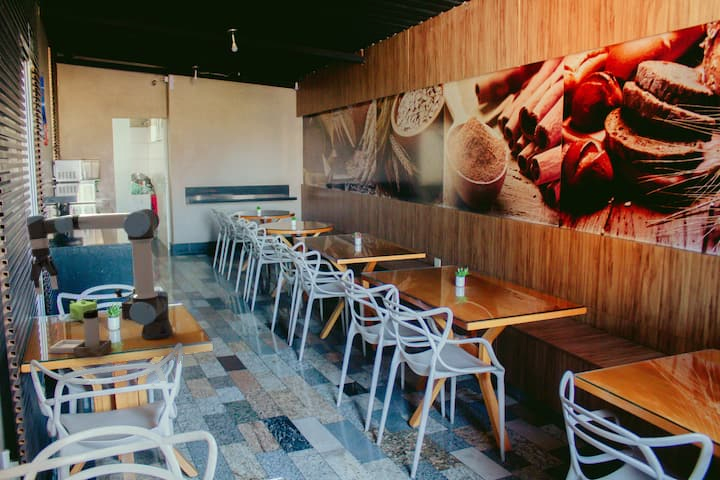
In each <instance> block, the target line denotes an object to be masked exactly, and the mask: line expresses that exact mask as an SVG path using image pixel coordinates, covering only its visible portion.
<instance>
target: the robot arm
mask: <svg viewBox="0 0 720 480" xmlns="http://www.w3.org/2000/svg"><path fill="white" fill-rule="evenodd" d="M159 225H160V217H159V215H158V213H157V212H156V211H155V210H152V209H148V208H143V209H140V210H139V209H138V210H132V211H131V212H124V213H123V212H120V213H115V212H114V213H89V214H87V213H85V214H77V213H76V214H75V213H73V214H68V215H62V216H56V217H49V218H45V215H44V214H38V215H37V214H36V215H29V216H27V217H26V227H27V231H28V237H29V244H30V248H31V250H30V251H31V256H32V257H33V258H34V259H31V268H30V275H29V276H30V278H29V280H30V281H31V282H33V285H34V288H35V289H34V291H35V295H36V296H38V295H39V296H40V295H43V288H42V287H43V286H42V282H41V279H40V278H41V274H42V270H43V269H44V268H45V270H46V272H48V274H49V280H50V282H49V283H50V287H51V290H59V287H58V286H59V285H58V280H57V276H58V275H59V271H58V268H57V266H56V264H55V262H54V260H53V256H52V255H51V251H50V247H49V245H50V243H49V238H48V235H51V234H65V233H70V232H71V231H80V230H82V231H83V230H84V231H85V230H111V229H112V230H117V229H118V230H119V229H123V230H124V231H125V233H126V235H127V241H128V242H130V243H131V248H132V249H131V251H132V266H133V280H134V289H135V294H133V295H132V296H131V298H132V303H133V305H132V306H131V308H130V312H129V313H130V317H131V319H132V320H131V321H133V322H134V323H135V324H137V325H139V326H142V329H141V338H142V339H143V340H150V341H152V340H153V341H154V340H155V341H156V340H163V339H167V338H170V337H173V335H174V329H173V326H172V325H171V322H170V318H169V317H170V316H169V314H170V313H169V312H170V311H169V293H168V291H166V290H155V284H154V267H153V253H152V242H153V240H154V239H155V231H156V230H157V229H158V227H159Z"/></svg>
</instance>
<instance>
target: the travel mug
mask: <svg viewBox="0 0 720 480" xmlns="http://www.w3.org/2000/svg"><path fill="white" fill-rule="evenodd" d="M83 319H84V323H83V331H84V333H83V334H84V340H85V347H100V340H101V339H100V322H99V309H97V310H90V311H86V312H84V313H83Z"/></svg>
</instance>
